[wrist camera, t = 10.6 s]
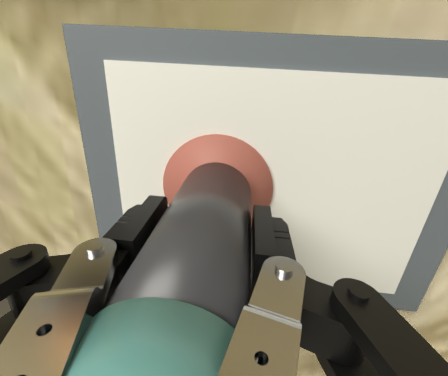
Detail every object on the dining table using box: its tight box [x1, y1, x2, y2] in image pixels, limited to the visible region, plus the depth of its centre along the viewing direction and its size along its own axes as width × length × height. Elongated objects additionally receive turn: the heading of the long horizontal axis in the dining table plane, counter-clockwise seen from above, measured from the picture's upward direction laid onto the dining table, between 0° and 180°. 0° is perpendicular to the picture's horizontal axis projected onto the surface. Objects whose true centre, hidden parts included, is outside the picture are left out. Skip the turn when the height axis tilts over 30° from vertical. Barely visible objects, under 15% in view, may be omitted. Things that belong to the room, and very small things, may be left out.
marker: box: [65, 162, 251, 376], centre depth 9 cm, size 4×4×12 cm
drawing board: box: [62, 24, 448, 311], centre depth 15 cm, size 22×16×1 cm
